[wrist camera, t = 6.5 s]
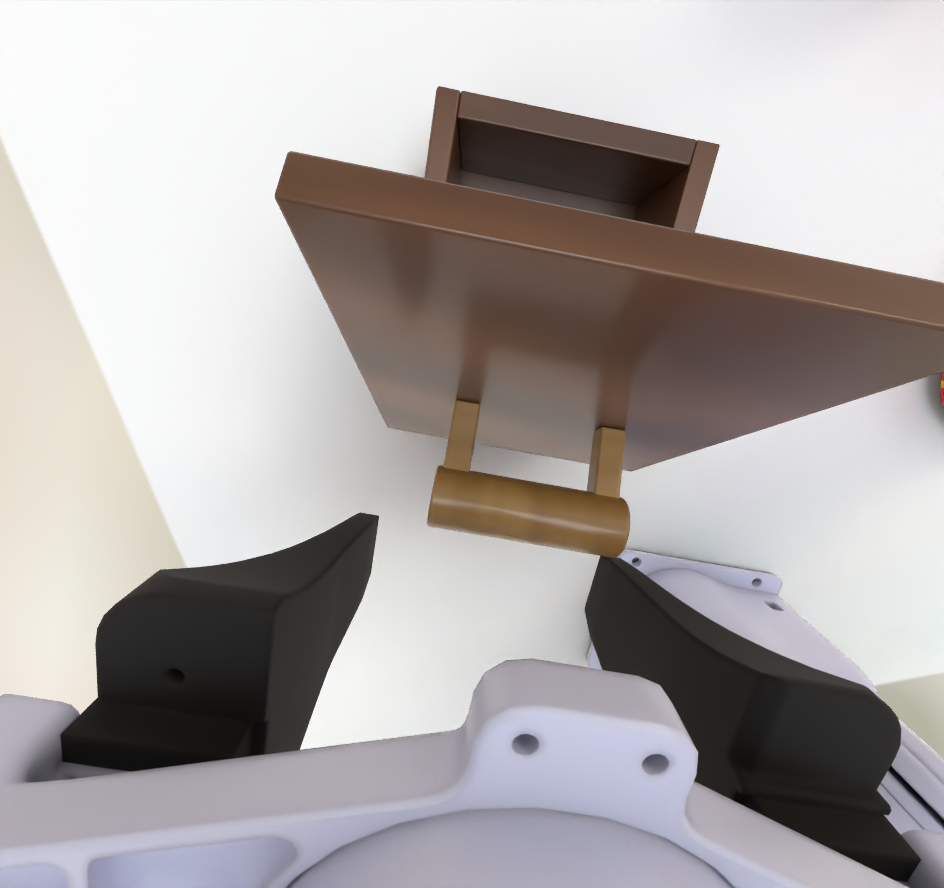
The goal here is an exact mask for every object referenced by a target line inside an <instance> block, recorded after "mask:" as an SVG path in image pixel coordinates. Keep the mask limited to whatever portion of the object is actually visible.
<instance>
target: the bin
mask: <svg viewBox="0 0 944 888" xmlns="http://www.w3.org/2000/svg"><path fill="white" fill-rule="evenodd" d="M719 146H720V145H719V144H714V143H710V142H705V141H700V140H697V141H696V140H694V139H689V138H684V137H680V136H675V135H670V134H665V133H661V132H656V131H651V130H646V129H642V128H637V127H632V126H627V125H623V124H618V123H613V122H608V121H604V120H599V119H594V118H589V117H584V116H580V115H575V114H570V113H565V112H561V111H556V110H551V109H546V108H542V107H537V106H532V105H527V104H523V103H518V102H513V101H508V100H504V99H499V98H494V97H489V96H485V95H480V94H475V93H470V92H466V91H462V92H461V94H460V91H458V90H454V89H450V88H445V87H440V86H439V87H438V88H437V90H436V97H435V104H434V112H433V119H432V126H431V133H430V141H429V148H428V155H427V163H426V170H425V177H424V178H426V179H431V180H436V181H441V182H446V183H451V184H456V185H461V186H466V187H471V188H476V189H481V190H486V191H491V192H496V193H501V194H506V195H511V196H516V197H521V198H525V199H530V200H535V201H540V202H545V203H550V204H555V205H560V206H565V207H570V208H575V209H580V210H585V211H590V212H595V213H600V214H605V215H610V216H615V217H620V218H625V219H630V220H634V221H639V222H644V223H649V224H654V225H659V226H664V227H669V228H674V229H679V230H684V231H689V232H694V233H695V229H696V226H697V222H698V219H699V215H700V212H701V208H702V205H703V201H704V198H705V195H706V191H707V188H708V184H709V181H710V177H711V174H712V170H713V167H714V163H715V160H716V157H717V153H718V150H719Z"/></svg>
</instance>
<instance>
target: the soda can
mask: <svg viewBox="0 0 944 888" xmlns="http://www.w3.org/2000/svg"><path fill="white" fill-rule="evenodd" d="M941 399H942V404H943V407H944V371H943V373H942V379H941Z"/></svg>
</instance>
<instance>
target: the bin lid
mask: <svg viewBox="0 0 944 888" xmlns="http://www.w3.org/2000/svg"><path fill="white" fill-rule="evenodd" d="M275 199H276V201H277V203H278V205H279V207H280V209H281V211H282V214H283V216H284V218H285V220H286V222H287V224H288V226H289V228H290V230H291V232H292V234H293V236H294V238H295V240H296V242H297V244H298V246H299V248H300V250H301V252H302V254H303V256H304V258H305V260H306V262H307V264H308V266H309V268H310V270H311V272H312V275H313V277H314V279H315V281H316V283H317V285H318V287H319V289H320V291H321V293H322V295H323V297H324V299H325V301H326V303H327V305H328V307H329V309H330V311H331V313H332V315H333V317H334V319H335V321H336V323H337V325H338V327H339V329H340V331H341V333H342V335H343V338H344V340H345V342H346V344H347V346H348V348H349V350H350V352H351V354H352V356H353V358H354V360H355V362H356V364H357V366H358V368H359V370H360V372H361V374H362V376H363V378H364V380H365V382H366V384H367V386H368V388H369V390H370V392H371V394H372V396H373V398H374V401H375V403H376V405H377V407H378V409H379V411H380V413H381V415H382V417H383V419H384V421H385V423H386V425H387V427H388V428H393V429H398V430H404V431H409V432H415V433H420V434H426V435H432V436H437V437H443V438H448V443H447V448H446V454H445V459H444V465H443V466H441V465H440V466H438V467H437V470H436V474H435V479H434V484H433V489H432V494H431V500H430V505H429V511H428V518H427V525H428V526H431V527H436V528H442V529H448V530H454V531H460V532H466V533H471V534H477V535H483V536H489V537H495V538H501V539H506V540H512V541H518V542H524V543H530V544H536V545H541V546H547V547H553V548H559V549H565V550H571V551H576V552H582V553H588V554H594V555H600V556H606V557H611V558H615V557H618V556H619V555H620V554H621V553H622V552H623V550H624V548H625V546H626V543H627V540H628V536H629V530H630V512H629V507H628V504H627V502H626V501H625V500H624V499H623V498H621V497H619V495H620V484H621V474H622V470H627V471H634V470H637V469H640V468H643V467H647V466H650V465H653V464H656V463H659V462H662V461H665V460H668V459H672V458H675V457H678V456H681V455H684V454H687V453H690V452H693V451H696V450H700V449H703V448H706V447H709V446H712V445H715V444H718V443H721V442H725V441H728V440H731V439H734V438H737V437H740V436H743V435H746V434H750V433H753V432H756V431H759V430H762V429H765V428H768V427H771V426H775V425H778V424H781V423H784V422H787V421H790V420H793V419H796V418H800V417H803V416H806V415H809V414H812V413H815V412H818V411H821V410H825V409H828V408H831V407H834V406H837V405H840V404H843V403H846V402H849V401H853V400H856V399H859V398H862V397H865V396H868V395H871V394H874V393H878V392H881V391H884V390H887V389H890V388H893V387H896V386H899V385H903V384H906V383H909V382H912V381H915V380H918V379H921V378H924V377H928V376H931V375H934V374H937V373H940V372H943V371H944V283H942V282H937V281H932V280H927V279H922V278H917V277H912V276H907V275H902V274H897V273H892V272H887V271H882V270H877V269H872V268H867V267H862V266H857V265H852V264H847V263H843V262H838V261H833V260H828V259H823V258H818V257H813V256H808V255H803V254H798V253H793V252H788V251H783V250H778V249H773V248H768V247H763V246H758V245H753V244H748V243H743V242H739V241H734V240H729V239H724V238H719V237H714V236H709V235H704V234H699V233H694V232H689V231H684V230H679V229H674V228H669V227H664V226H659V225H654V224H649V223H644V222H639V221H634V220H630V219H625V218H620V217H615V216H610V215H605V214H600V213H595V212H590V211H585V210H580V209H575V208H570V207H565V206H560V205H555V204H550V203H545V202H540V201H535V200H530V199H525V198H521V197H516V196H511V195H506V194H501V193H496V192H491V191H486V190H481V189H476V188H471V187H466V186H461V185H456V184H451V183H446V182H441V181H436V180H431V179H426V178H421V177H416V176H412V175H407V174H402V173H397V172H392V171H387V170H382V169H377V168H372V167H367V166H362V165H357V164H352V163H347V162H342V161H337V160H332V159H327V158H322V157H317V156H312V155H308V154H303V153H298V152H293V151H291V152H288V153H287V157H286V160H285V163H284V166H283V170H282V173H281V176H280V179H279V183H278V186H277V189H276V192H275ZM474 443H476V444H482V445H487V446H493V447H499V448H504V449H510V450H515V451H521V452H526V453H532V454H538V455H543V456H549V457H554V458H560V459H565V460H571V461H577V462H582V463H588V464H590V468H589V477H588V486H587V491H582V490H577V489H571V488H565V487H560V486H554V485H548V484H543V483H537V482H531V481H526V480H520V479H514V478H509V477H503V476H497V475H492V474H486V473H480V472H475V471H470V467H471V461H472V455H473V449H474Z"/></svg>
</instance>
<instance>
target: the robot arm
mask: <svg viewBox="0 0 944 888" xmlns="http://www.w3.org/2000/svg"><path fill="white" fill-rule="evenodd" d="M378 520H379V516H377V515H371V514H365V513H358V514H356V515H354V516H352V517H351V518H349V519H347V520H345V521H344V522H342V523H340V524H338V525H337V526H335V527H333V528H331V529H329V530H327V531H326V532H324V533H321V534H319V535H317V536H315V537H313V538H311V539H309V540H307V541H304V542H302V543H300V544H297V545H295V546H292V547H290V548H287V549H284V550H281V551H278V552H275V553H271V554H268V555H264V556H260V557H256V558H252V559H248V560H244V561H239V562H233V563H227V564H221V565H214V566H206V567H195V568H181V569H168V570H167V569H164V570H159V571H158V572H157V573H155V574H154V575H153V576H151V577H150V578H149V579H147V580H146V581H145V582H144V583H142V584H141V585H140V586H138V587H137V588H136V589H134V590H133V591H132V592H131V593H130V594H128V595H127V596H125V597H124V598H123V599H122V600H120V601H119V602H118V603H116V604H115V605H114V606H113V607H112V608H111V609H110V610H109V611H108V612H107V613H106V614H105V615H104V616H103V618H102V620H101V622H100V624H99V626H98V628H97V635H96V665H97V686H98V698H97V699H96V700H95V701H94V702H93V703H92V704H91V705H90V706H89V707H88V708H87V709H86V710H85V711H84V712H83V713H82V714H81V715H80V714H79V712H78V710H76V709H75V708H74V707H73V706H72V705H69V704H67V703H64V702H59V701H53V700H46V699H39V698H33V697H26V696H19V695H13V694H4V695H2V696H0V888H944V759H943V758H942V757H941V756H940V755H939V754H937V753H936V752H935V751H934V750H933V749H932V748H931V747H930V746H929V745H927V744H926V743H925V742H924V741H923V740H922V739H921V738H920V737H919V736H918V735H916V734H915V733H914V732H913V731H912V730H911V729H910V728H909V727H907V726H906V725H905V724H904V723H903V722H902V721H901V720H900V719H899V718H898V717H897V716H896V714H895V713H894V712H893V711H892V709H891V708H890V707H889V706H888V705H887V704H886V703H885V702H883V701H882V700H881V698H880V696H879V694H878V692H877V691H876V689H875V688H874V686H873V684H872V683H871V681H870V680H869V679H868V678H867V676H866V675H865V674H864V673H863V672H862V671H861V669H860V668H859V667H858V666H857V665H855V664H854V663H853V662H852V661H851V660H850V659H849V658H848V657H846V656H845V655H844V654H843V653H842V652H841V651H840V650H839V649H837V648H836V647H835V646H834V645H833V644H832V643H831V642H830V641H828V640H827V639H826V638H825V637H824V636H823V635H822V634H820V633H819V632H818V631H817V630H816V629H815V628H814V627H813V626H811V625H810V624H809V623H808V622H807V621H806V620H805V619H804V618H802V617H801V616H800V615H799V614H798V613H797V612H796V611H794V610H793V609H792V608H791V607H790V606H789V605H788V604H787V603H785V602H784V601H783V600H782V599H781V598H780V597H779V596H778V593H779V591H780V589H781V586H782V581H781V580H780V579H779V578H778V577H777V576H776V575H773V574H768V573H762V572H756V571H751V570H745V569H739V568H733V567H727V566H722V565H716V564H710V563H704V562H698V561H693V560H687V559H681V558H675V557H669V556H664V555H658V554H652V553H646V552H640V551H635V550H629V549H625V550H623V552H622V553H621V554H620V555H619V556H618V557H615V558H611V557H606V556H600V559H599V562H598V566H597V569H596V572H595V576H594V579H593V582H592V586H591V589H590V592H589V596H588V599H587V602H586V606H585V613H586V619H587V624H588V628H589V633H590V637H591V640H592V642H591V645H590V649H589V652H588V655H587V663H588V665H589V667H590V668H586V667H580V666H574V665H568V664H561V663H555V662H549V661H543V660H537V659H521V660H506V661H504V662H503V663H501V664H499V665H497V666H495V667H494V668H492V669H490V670H488V671H486V672H485V673H484V675H483V676H482V678H481V680H480V681H479V683H478V685H477V687H476V688H475V690H474V692H473V696H472V701H471V705H470V709H469V713H468V716H467V718H466V721H465V723H464V724H463V725H462V726H461V727H460V728H458V729H456V730H453V731H445V732H437V733H430V734H422V735H414V736H406V737H398V738H390V739H383V740H375V741H367V742H359V743H351V744H343V745H336V746H328V747H320V748H312V749H304V750H300V747H301V744H302V741H303V738H304V735H305V733H306V730H307V727H308V724H309V721H310V719H311V716H312V713H313V710H314V707H315V704H316V702H317V699H318V696H319V693H320V691H321V688H322V685H323V682H324V680H325V677H326V674H327V672H328V669H329V667H330V665H331V662H332V660H333V658H334V656H335V654H336V652H337V650H338V648H339V646H340V644H341V642H342V639H343V637H344V635H345V633H346V631H347V629H348V627H349V625H350V623H351V621H352V619H353V617H354V615H355V613H356V611H357V609H358V607H359V605H360V603H361V600H362V598H363V595H364V592H365V589H366V586H367V583H368V580H369V577H370V574H371V568H372V561H373V555H374V548H375V541H376V534H377V527H378ZM634 558H639V560H638V561H637V562H632V560H633V559H634ZM756 578H757V580H756V581H755V582H753V583H752V581H753V580H754V579H756Z"/></svg>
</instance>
